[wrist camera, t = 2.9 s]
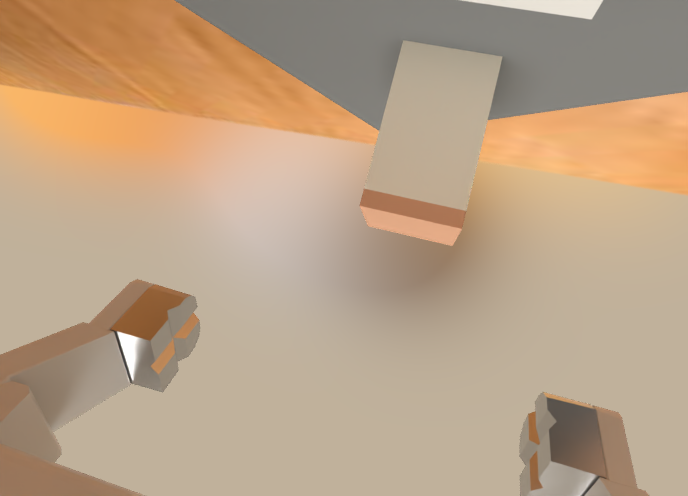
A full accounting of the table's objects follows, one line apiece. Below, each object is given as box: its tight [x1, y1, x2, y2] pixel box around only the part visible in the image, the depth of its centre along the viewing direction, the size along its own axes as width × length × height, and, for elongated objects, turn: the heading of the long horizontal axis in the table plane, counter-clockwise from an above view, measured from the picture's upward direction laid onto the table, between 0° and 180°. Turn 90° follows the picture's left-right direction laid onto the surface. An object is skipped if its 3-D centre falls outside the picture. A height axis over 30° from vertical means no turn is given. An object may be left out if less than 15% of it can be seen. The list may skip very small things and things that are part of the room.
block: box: [360, 40, 502, 246], centre depth 23 cm, size 4×4×8 cm
